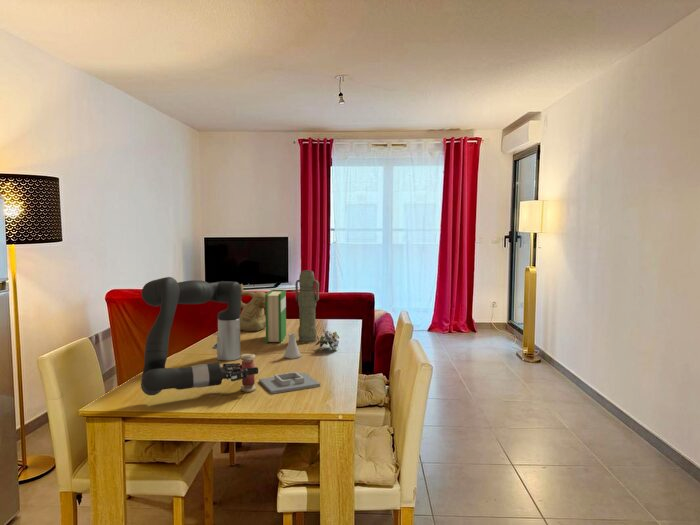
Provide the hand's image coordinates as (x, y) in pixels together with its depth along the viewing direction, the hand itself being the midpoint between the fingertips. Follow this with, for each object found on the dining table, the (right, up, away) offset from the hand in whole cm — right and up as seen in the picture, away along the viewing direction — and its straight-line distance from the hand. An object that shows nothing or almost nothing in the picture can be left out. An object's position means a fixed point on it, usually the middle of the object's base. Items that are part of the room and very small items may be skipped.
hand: (255, 368), depth 173 cm
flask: (+8, -4, +43) cm, 44 cm away
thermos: (+12, -2, +73) cm, 74 cm away
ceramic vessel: (-21, 0, +101) cm, 103 cm away
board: (+11, -7, +6) cm, 14 cm away
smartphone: (-28, -3, +66) cm, 71 cm away
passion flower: (+23, -3, +54) cm, 59 cm away
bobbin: (-2, -7, -1) cm, 8 cm away
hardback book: (-4, -2, +76) cm, 76 cm away
